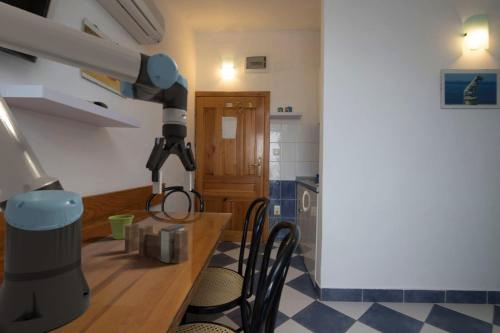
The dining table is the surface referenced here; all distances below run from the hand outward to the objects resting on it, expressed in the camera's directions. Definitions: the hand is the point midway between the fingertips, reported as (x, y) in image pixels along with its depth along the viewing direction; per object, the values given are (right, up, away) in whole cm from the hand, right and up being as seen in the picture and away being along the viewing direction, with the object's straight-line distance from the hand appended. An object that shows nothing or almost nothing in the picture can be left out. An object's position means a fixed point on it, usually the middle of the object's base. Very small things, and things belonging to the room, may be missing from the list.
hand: (173, 192), depth 79 cm
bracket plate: (0, -21, 0) cm, 21 cm away
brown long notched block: (-7, -21, +3) cm, 22 cm away
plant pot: (-29, -22, +24) cm, 43 cm away
